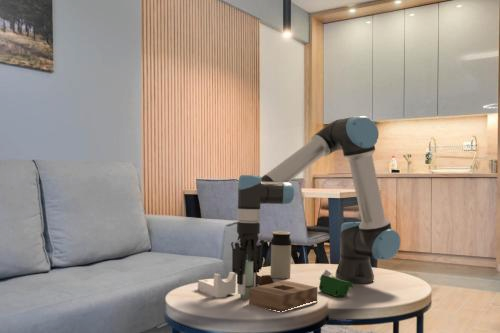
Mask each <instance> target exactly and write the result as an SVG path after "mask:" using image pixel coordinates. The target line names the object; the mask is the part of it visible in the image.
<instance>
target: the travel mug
mask: <svg viewBox="0 0 500 333" xmlns="http://www.w3.org/2000/svg"><path fill="white" fill-rule="evenodd" d="M271 233H272V239H271V242H270V245H271V246H270V274H269V275H270V276H271V277H272V279H277V280H287V279H289V278H291V268H292V267H291V260H292V239H291V238H290V237H291V234H292V233H291V232H290V231H272V232H271Z"/></svg>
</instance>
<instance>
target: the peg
mask: <svg viewBox="0 0 500 333" xmlns="http://www.w3.org/2000/svg"><path fill="white" fill-rule="evenodd" d="M244 274H246V284H245V295H241V294H239V295H240V296H239V297H240V299H242V300H246V301H249V288H252V287H253V261H250V260H249V259H246V264H245V270H244Z"/></svg>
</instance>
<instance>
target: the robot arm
mask: <svg viewBox="0 0 500 333" xmlns="http://www.w3.org/2000/svg"><path fill="white" fill-rule="evenodd" d="M378 139H379V128H378V127H377V125H376V123H375V122H374V120H372V119H371V118H370V117H368V116H365V115H359V116H358V115H356V116H351V117H347V118H345V117H344V118H340V119H335V120H334V121H332V122H329V124H327V125H326V126H324V127H323V128H322V129H320V130H319V131H317V132H316V133H315V134H313V135H312V136H311V140H310V141H308V142H307V143H305V145H303V146H302V147H300V148H299V149H298V150H296V151H295V152H294V153H293V154H291V155H290V156H288V157H287V158H286V159H284V160H283V161H281V162H280V163H279V164H277V165H276V166H274V168H272V169H271V170H269V171H268V172H267V173H266V174H264V175H263V176H261V175H258V174H256V175H255V174H253V175H252V174H241V175H240V176H239V177H238V182H237V218H236V219H237V221H238V222H237V224H236V233H237V236H238V237H237V240H236V241H231V243H230V245H231V250H232V254H231V255H232V256H231V258H232V263H231V264H232V266H231V268H232V271H231V272H233V273H236V284H237V294H238V295H240V294H241V295H245V284H246V274H244V270H245V264H246V260H247V257H248V260H250V261H253V287H256V284H255V283H256V279H257V275H258V274H259V273H260V271H261V270H262V266H263V247H264V244H265V241H264V239H260V238H259V234H260V233H261V228H260V227H261V223H260V222H261V205H262V204H263V205H264V204H265V205H266V204H267V205H268V204H270V205H285V204H287V205H288V204H291V203H292V202H293V200H294V197H295V189H294V188H295V187H294V186H293V184H292V183H291V181H292V180H294V179H295V178H296V177H298V176H299V175H300V174H302V173H303V172H305V170H307V169H308V168H309V167H311V166H313V164H314V163H315V164H316V162H318V160H320V159H321V158H322V157H328V156H330V155H331V154H333V153H335V152H337V151H341V150H342V154H343V155H342V156H343V157H344V158H345V159H347V160H348V162H349V167H350V172H351V176H352V180H353V182H352V183H353V186H354V191H355V195H356V196H355V197H356V199H357V205H358V209H359V216H360V219H361V221H354V222H352V221H351V222H350V221H349V222H344V223H341V226H340V233H339V234H340V249H339V250H340V251H339V252H340V255H339V256H340V257H339V258H340V259H339V261H338V266H337V267H336V268H337V269H336V270H335V277H334V278H338V279H341V280H343V281H347V282H351V283H353V284H369V283H368V282H371V283H373V282H372V281H373V280H374V281H375V274H374V271H373V270H374V269H373V267H372V264H371V258H372V259H375V260H378V261H389V260H391V259H393V258H394V257H395V256H396V255H397V254H398V251H399V250H400V248H401V237H400V235H399V233H398V232H397V231H396V230H395V229H393V228H392V224H391V221H390V219H388V218H386V215H385V211H384V206H383V202H382V197H381V192H380V188H379V184H378V178H377V173H376V167H375V163H374V158H373V154H374V153H375V151H376V146H375V145H376V144H377V142H378ZM259 221H260V222H259Z"/></svg>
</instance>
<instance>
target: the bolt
mask: <svg viewBox="0 0 500 333" xmlns="http://www.w3.org/2000/svg"><path fill="white" fill-rule="evenodd" d="M272 283H275V281H274V278H272V277H271V276H270V274H266V275H265V274H264V275H258V274H257V279H256V283H255V285H258V286H262V285H267V284H272Z"/></svg>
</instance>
